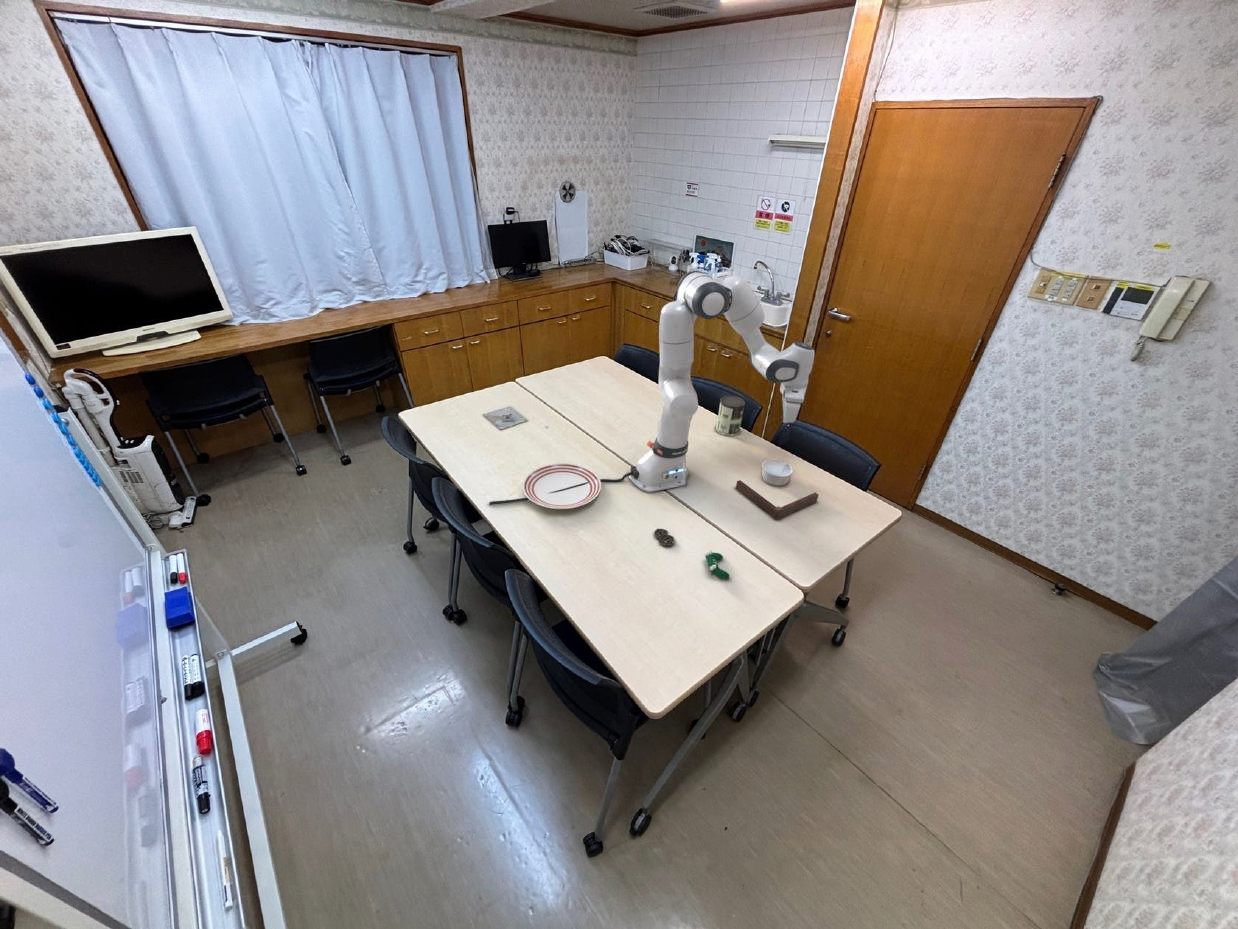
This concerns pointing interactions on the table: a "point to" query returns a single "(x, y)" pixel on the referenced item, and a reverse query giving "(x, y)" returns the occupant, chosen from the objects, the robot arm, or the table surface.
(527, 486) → the plate
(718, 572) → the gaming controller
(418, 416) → the table surface
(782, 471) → the ramekin
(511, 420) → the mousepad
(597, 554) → the table surface
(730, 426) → the coffee can
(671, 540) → the corroded twin loop
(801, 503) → the corner guard
